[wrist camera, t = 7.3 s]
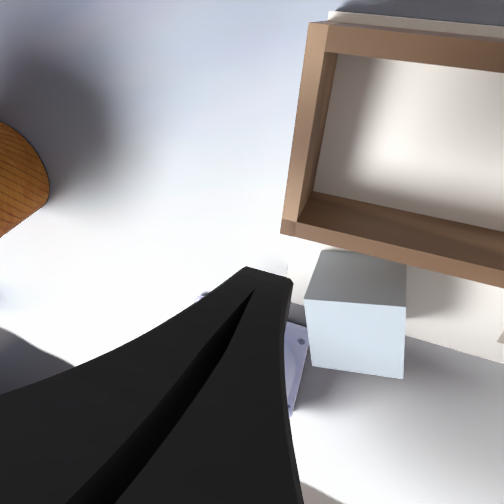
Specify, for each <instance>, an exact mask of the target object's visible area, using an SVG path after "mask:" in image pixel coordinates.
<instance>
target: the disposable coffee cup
mask: <svg viewBox="0 0 504 504" xmlns="http://www.w3.org/2000/svg"><path fill="white" fill-rule="evenodd" d="M48 197H49V181H48V177H47V173H46V171H45V168H44V166H43V164H42V162H41V160H40V158H39V156H38V155H37V153H36V152H35V150H34V149H33V147H32V146H31V145H30V144H29V143H28V142H27V141H26V140H25V139H24V137H22V136H21V135H20V134H19V133H18V132H17V131H15V130H14V129H13V128H11V127H10V126H8V125H6V124H4V123H2V122H0V238H1V237H2V236H3V235H4V234H6V233H7V232H9V231H10V230H11V229H12V228H14V227H15V226H17V225H18V224H19V223H21V222H22V221H23V220H25V219H26V218H28V217H29V216H30V215H32V214H33V213H34V212H36V211H37V210H38V209H40V208H42V207H43V206H44V205H45V204H46V202H47V199H48Z"/></svg>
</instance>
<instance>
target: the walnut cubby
mask: <svg viewBox="0 0 504 504" xmlns="http://www.w3.org/2000/svg"><path fill="white" fill-rule="evenodd" d="M338 53H340V54H349V55H357V56H365V57H373V58H382V59H390V60H398V61H406V62H415V63H423V64H431V65H440V66H448V67H456V68H464V69H473V70H481V71H489V72H498V73H504V38H496V37H486V36H476V35H466V34H456V33H446V32H436V31H426V30H416V29H406V28H396V27H386V26H376V25H366V24H356V23H346V22H336V21H320V22H311V23H309V26H308V33H307V40H306V48H305V55H304V62H303V69H302V77H301V84H300V91H299V99H298V106H297V113H296V120H295V128H294V135H293V142H292V150H291V157H290V164H289V171H288V179H287V186H286V193H285V201H284V208H283V215H282V222H281V230H280V233H281V234H285V235H289V236H293V237H297V238H301V239H305V240H309V241H313V242H317V243H321V244H325V245H329V246H333V247H337V248H341V249H345V250H349V251H353V252H358V253H362V254H366V255H370V256H374V257H378V258H382V259H386V260H390V261H394V262H398V263H402V264H406V265H410V266H414V267H418V268H422V269H426V270H430V271H434V272H438V273H443V274H447V275H451V276H455V277H459V278H463V279H467V280H471V281H475V282H479V283H483V284H487V285H491V286H495V287H499V288H503V289H504V232H502V231H498V230H493V229H488V228H484V227H479V226H474V225H470V224H465V223H460V222H455V221H451V220H446V219H441V218H437V217H432V216H427V215H423V214H418V213H413V212H409V211H404V210H399V209H395V208H390V207H385V206H381V205H376V204H371V203H367V202H362V201H357V200H353V199H348V198H343V197H339V196H334V195H329V194H325V193H320V192H315V191H313V188H314V183H315V178H316V172H317V167H318V161H319V156H320V150H321V145H322V139H323V134H324V128H325V123H326V117H327V112H328V107H329V101H330V96H331V90H332V85H333V79H334V74H335V68H336V63H337V57H338Z"/></svg>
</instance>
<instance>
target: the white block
mask: <svg viewBox="0 0 504 504" xmlns="http://www.w3.org/2000/svg"><path fill="white" fill-rule="evenodd" d="M303 300H304V308H305V316H306V323H307V331H308V338H309V346H310V354H311V361H312V366H315V367H322V368H329V369H336V370H342V371H349V372H356V373H363V374H370V375H377V376H384V377H390V378H397V379H403V372H404V347H405V322H406V264H402V263H398V262H394V261H390V260H386V259H382V258H378V257H374V256H370V255H366V254H362V253H358V252H353V251H321V252H320V255H319V258H318V261H317V263H316V266H315V269H314V271H313V274H312V277H311V280H310V282H309V285H308V288H307V290H306V293H305V296H304V299H303Z"/></svg>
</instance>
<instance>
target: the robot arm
mask: <svg viewBox="0 0 504 504" xmlns="http://www.w3.org/2000/svg"><path fill="white" fill-rule="evenodd" d="M293 285H294V283H293V282H292V280H291V279H290V278H287V277H283V276H279V275H276V274H272V273H268V272H265V271H261V270H258V269H254V268H250V267H247V266H246V267H244V268H242V269H241V270H239V271H238V272H237V273H235V274H234V275H233V276H232V277H230V278H229V279H228V280H226V281H225V282H224V283H222V284H221V285H219V286H218V287H217V288H215V289H214V290H213V291H211V292H210V293H208V294H207V295H206V296H198V297H197V299H196V300H195V303H194V304H192V305H191V306H190V307H188V308H187V309H185V310H183V311H182V312H180V313H179V314H177V315H175V316H174V317H172V318H171V319H169V320H167V321H166V322H164V323H162V324H161V325H159V326H157V327H156V328H154V329H152V330H151V331H149V332H147V333H145V334H143V335H142V336H140V337H138V338H136V339H134V340H132V341H130V342H128V343H126V344H124V345H122V346H120V347H118V348H116V349H114V350H112V351H110V352H108V353H106V354H104V355H101V356H99V357H97V358H95V359H93V360H90V361H88V362H86V363H83V364H81V365H79V366H76V367H74V368H72V369H69V370H67V371H65V372H62V373H60V374H57V375H54V376H52V377H49V378H46V379H44V380H41V381H38V382H36V383H33V384H30V385H27V386H25V387H22V388H19V389H16V390H13V391H10V392H7V393H4V394H1V395H0V504H304V501H303V497H302V491H301V486H300V480H299V475H298V469H297V464H296V458H295V453H294V447H293V442H292V435H291V427H290V420H289V417H291V416H292V414H293V410H294V405H295V401H296V397H297V393H298V389H299V384H300V380H301V376H302V372H303V368H304V363H305V359H306V355H307V351H308V347H309V338H308V331H307V328H306V327H304V326H301V325H297V324H294V323H291V322H287V319H288V313H289V307H290V302H291V296H292V291H293ZM301 339H303V340H301Z"/></svg>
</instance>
